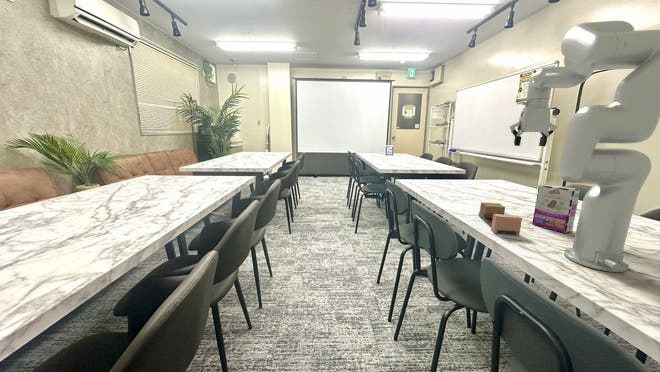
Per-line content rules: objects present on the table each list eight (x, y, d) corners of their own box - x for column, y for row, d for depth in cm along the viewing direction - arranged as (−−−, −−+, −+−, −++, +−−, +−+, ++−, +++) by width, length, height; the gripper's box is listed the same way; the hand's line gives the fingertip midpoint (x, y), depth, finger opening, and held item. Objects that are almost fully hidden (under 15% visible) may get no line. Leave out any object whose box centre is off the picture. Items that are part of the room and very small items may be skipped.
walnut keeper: (503, 219, 103) (505, 207, 102) (484, 217, 105) (485, 205, 104) (497, 214, 109) (499, 203, 108) (479, 213, 110) (481, 202, 109)
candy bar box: (572, 232, 95) (581, 188, 92) (565, 234, 93) (574, 190, 90) (538, 222, 105) (545, 183, 102) (531, 224, 103) (538, 184, 100)
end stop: (519, 235, 90) (522, 218, 89) (493, 233, 92) (496, 216, 91) (515, 232, 93) (518, 215, 92) (490, 230, 95) (493, 213, 94)
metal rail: (515, 235, 91) (516, 231, 90) (496, 233, 92) (497, 229, 92) (493, 216, 112) (494, 213, 111) (478, 215, 113) (478, 212, 113)
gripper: (518, 103, 104) (511, 146, 107) (566, 103, 101) (558, 146, 104) (509, 105, 111) (503, 145, 114) (553, 105, 108) (546, 146, 112)
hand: (529, 146), depth 109 cm, fingers open, 9 cm apart
